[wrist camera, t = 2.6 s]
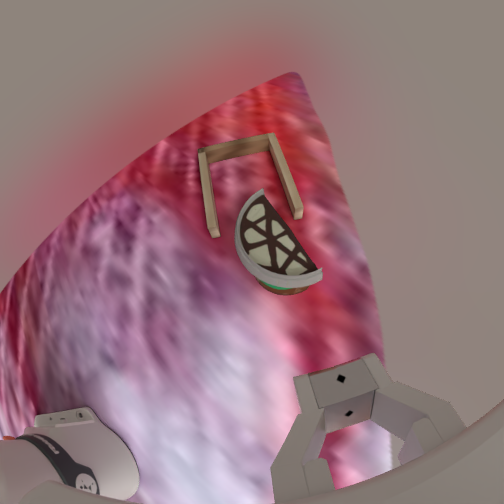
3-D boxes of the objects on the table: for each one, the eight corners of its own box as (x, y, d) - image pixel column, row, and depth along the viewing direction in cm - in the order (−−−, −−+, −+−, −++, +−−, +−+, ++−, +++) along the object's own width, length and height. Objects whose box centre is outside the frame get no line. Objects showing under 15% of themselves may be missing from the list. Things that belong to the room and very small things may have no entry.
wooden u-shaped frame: (212, 238, 39) (207, 228, 37) (201, 160, 46) (197, 149, 43) (301, 218, 39) (303, 207, 37) (274, 144, 46) (274, 132, 44)
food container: (227, 248, 39) (212, 209, 30) (265, 227, 39) (260, 184, 30) (272, 323, 34) (270, 305, 25) (312, 298, 35) (325, 272, 25)
